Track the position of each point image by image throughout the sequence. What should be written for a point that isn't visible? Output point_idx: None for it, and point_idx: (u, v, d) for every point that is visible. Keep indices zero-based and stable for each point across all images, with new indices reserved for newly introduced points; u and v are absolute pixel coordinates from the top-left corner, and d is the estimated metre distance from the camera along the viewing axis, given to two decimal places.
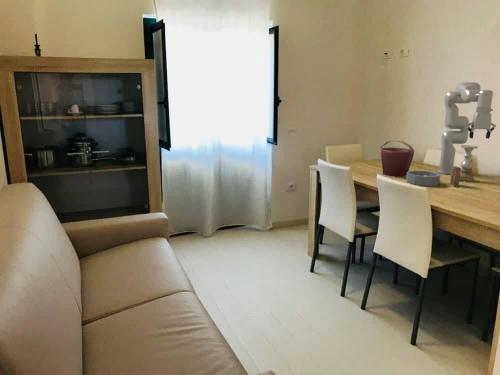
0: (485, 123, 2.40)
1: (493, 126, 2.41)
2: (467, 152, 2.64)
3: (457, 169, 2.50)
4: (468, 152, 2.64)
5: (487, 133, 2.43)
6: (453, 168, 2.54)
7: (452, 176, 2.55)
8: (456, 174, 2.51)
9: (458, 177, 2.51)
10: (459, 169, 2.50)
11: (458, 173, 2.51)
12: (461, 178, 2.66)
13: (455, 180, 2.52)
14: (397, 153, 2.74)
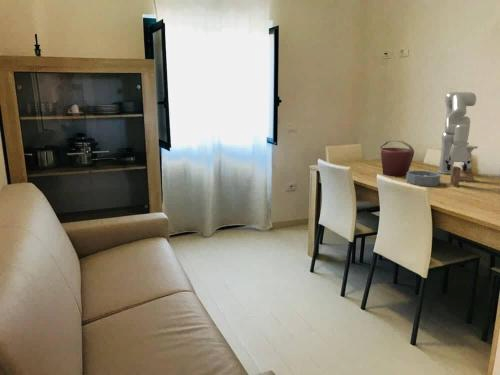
0: (461, 156, 2.48)
1: (469, 159, 2.50)
2: None
3: (457, 169, 2.50)
4: (468, 152, 2.64)
5: (464, 166, 2.52)
6: (453, 168, 2.54)
7: (452, 176, 2.55)
8: (456, 174, 2.51)
9: (458, 177, 2.51)
10: (459, 169, 2.50)
11: (458, 173, 2.51)
12: (461, 178, 2.66)
13: (455, 180, 2.52)
14: (397, 153, 2.74)
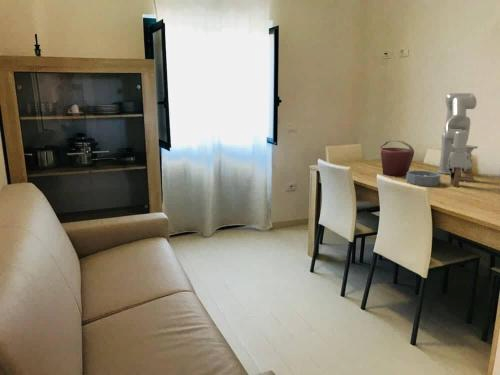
0: (460, 162, 2.50)
1: (464, 167, 2.52)
2: (467, 152, 2.64)
3: (457, 169, 2.50)
4: (468, 152, 2.64)
5: None
6: None
7: None
8: (456, 174, 2.51)
9: (458, 177, 2.51)
10: (459, 169, 2.50)
11: (458, 173, 2.51)
12: (461, 178, 2.66)
13: (455, 180, 2.52)
14: (397, 153, 2.74)
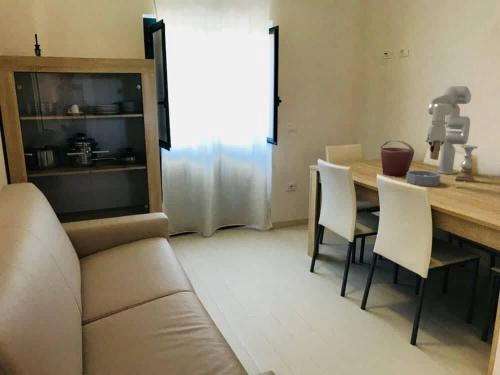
0: (440, 135, 2.50)
1: (444, 141, 2.52)
2: (467, 152, 2.64)
3: (436, 142, 2.50)
4: (468, 152, 2.64)
5: None
6: None
7: None
8: (436, 147, 2.51)
9: (438, 150, 2.51)
10: (438, 142, 2.50)
11: (437, 146, 2.51)
12: (461, 178, 2.66)
13: (434, 153, 2.52)
14: (397, 153, 2.74)
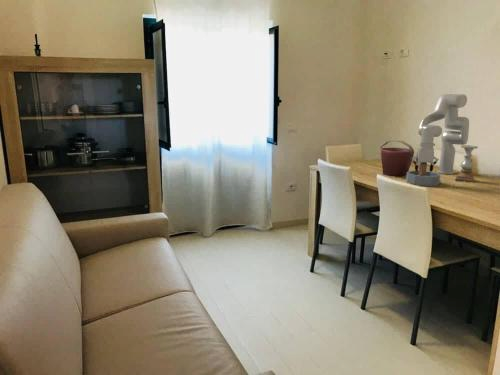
0: (428, 157, 2.55)
1: (436, 160, 2.56)
2: (467, 152, 2.64)
3: (423, 164, 2.58)
4: (468, 152, 2.64)
5: (430, 166, 2.58)
6: (420, 163, 2.62)
7: (419, 171, 2.63)
8: (422, 169, 2.59)
9: (424, 172, 2.59)
10: (425, 164, 2.58)
11: (424, 168, 2.58)
12: (461, 178, 2.66)
13: (421, 174, 2.60)
14: (397, 153, 2.74)
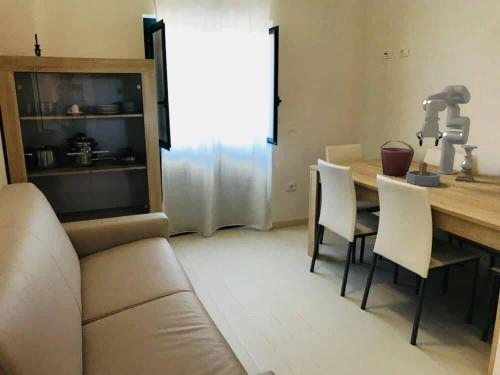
0: (433, 132, 2.52)
1: (441, 134, 2.53)
2: (467, 152, 2.64)
3: (423, 164, 2.58)
4: (468, 152, 2.64)
5: (436, 141, 2.55)
6: (420, 163, 2.62)
7: (419, 171, 2.63)
8: (423, 169, 2.59)
9: (425, 172, 2.59)
10: (425, 164, 2.58)
11: (424, 168, 2.58)
12: (461, 178, 2.66)
13: (421, 175, 2.60)
14: (397, 153, 2.74)
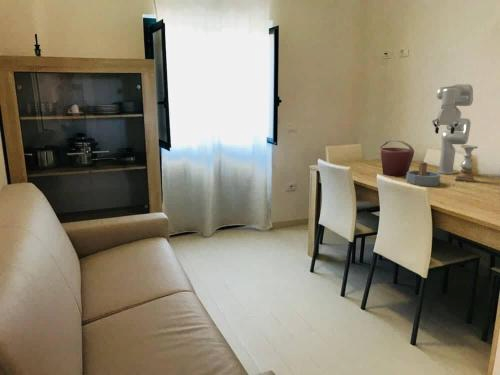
0: (449, 119, 2.57)
1: (457, 122, 2.59)
2: (467, 152, 2.64)
3: (423, 164, 2.58)
4: (468, 152, 2.64)
5: (451, 128, 2.61)
6: (420, 163, 2.62)
7: (419, 171, 2.63)
8: (423, 169, 2.59)
9: (425, 172, 2.59)
10: (425, 164, 2.58)
11: (424, 168, 2.58)
12: (461, 178, 2.66)
13: (421, 175, 2.60)
14: (397, 153, 2.74)
